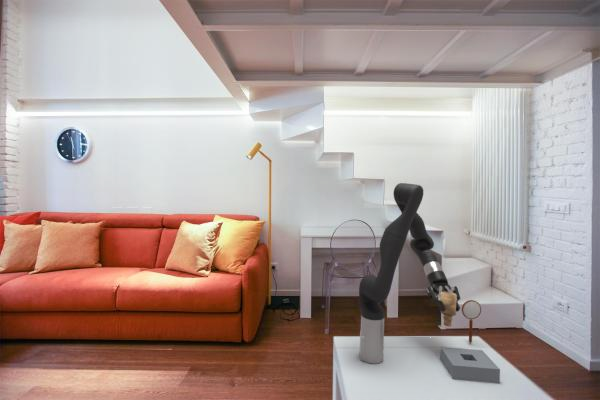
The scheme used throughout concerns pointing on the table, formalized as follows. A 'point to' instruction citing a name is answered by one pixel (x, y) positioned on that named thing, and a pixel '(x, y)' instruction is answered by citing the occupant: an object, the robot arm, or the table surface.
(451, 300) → the peg
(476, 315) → the magnifying glass
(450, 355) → the board
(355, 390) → the table surface
